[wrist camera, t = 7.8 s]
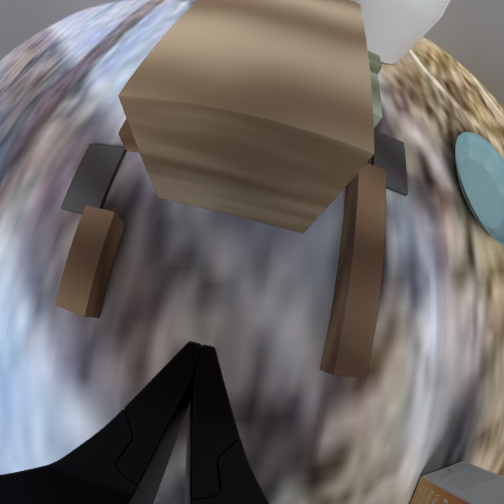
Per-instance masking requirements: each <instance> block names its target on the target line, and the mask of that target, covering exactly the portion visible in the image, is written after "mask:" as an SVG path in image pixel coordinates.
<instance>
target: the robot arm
mask: <svg viewBox="0 0 504 504" xmlns="http://www.w3.org/2000/svg"><path fill="white" fill-rule="evenodd" d="M189 404H190V408H189V420H188V435H187V453H186V476H185V504H269V502H268V500H267V498H266V497H265V495H264V493H263V491H262V489H261V487H260V485H259V483H258V482H257V480H256V478H255V475H254V473H253V471H252V469H251V467H250V465H249V462H248V459H247V457H246V454H245V451H244V448H243V445H242V442H241V439H239V438H240V436H239V432H238V429H237V426H236V422H235V419H234V416H233V412H232V409H231V405H230V402H229V398H228V394H227V391H226V387H225V383H224V380H223V376H222V372H221V368H220V364H219V361H218V357H217V353H216V349H215V347H213V346H208V345H201V344H200V343H196V342H192V341H190V342H188V343H187V344H186V345H185V346H184V347H183V348H182V349H181V350H180V351H179V352H178V353H177V354H176V355H175V356H174V357H173V358H172V360H171V361H170V362H169V363H168V364H167V365H166V366H165V367H164V368H163V369H162V370H161V371H160V372H159V373H158V374H157V375H156V376H155V377H154V378H153V379H152V380H151V381H150V382H149V383H148V384H147V385H146V386H145V387H144V388H143V389H142V390H141V391H140V392H139V393H138V394H137V395H136V396H135V398H134V399H133V400H132V401H131V402H130V403H129V404H128V405H127V406H126V407H125V408H124V410H122V411H121V412H120V413H119V414H118V415H117V416H116V417H115V418H113V419H112V420H111V421H110V422H109V423H108V424H107V425H106V426H105V427H104V428H102V429H101V430H100V431H99V432H97V433H96V434H95V435H94V436H92V437H91V438H90V439H88V440H87V441H86V442H84V443H83V444H81V445H80V446H79V447H77V448H76V449H74V450H73V451H72V452H70V453H69V454H67V455H66V456H65V457H63V458H61V459H60V460H58V461H56V462H54V463H52V464H49V465H46V466H42V467H38V468H33V469H29V470H24V471H20V472H15V473H9V474H4V475H0V504H153V502H154V499H155V497H156V494H157V491H158V489H159V486H160V483H161V480H162V478H163V475H164V472H165V469H166V467H167V464H168V461H169V459H170V456H171V453H172V450H173V448H174V445H175V442H176V440H177V437H178V434H179V432H180V429H181V426H182V423H183V421H184V418H185V415H186V413H187V410H188V407H189Z"/></svg>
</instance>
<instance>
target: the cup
mask: <svg viewBox="0 0 504 504" xmlns="http://www.w3.org/2000/svg"><path fill="white" fill-rule="evenodd" d="M449 2H450V0H355V3H358V4H360V7H361V12H362V18H363V23H364V29H365V36H366V42H367V50H368V51H370V52H372V53H375V54H377V55H379V56H380V60H381V62H383V63H388V64H396V63H398V62H399V61H400V60H401V58H402V57H403V56H404V55H405V54H406V53H407V52H408V51H409V50H410V49H411V48H412V47H413V46H414V45H415V44H416V43H417V42H418V41H419V40H420V39H421V38H422V37H423V36H424V35H425V34H426V33H427V32H428V31H429V30H430V29H431V28H432V26H433V25H434V24H435V23H436V22H437V21H438V20H439V19H440V18H441V17H442V16H443V13H444V11H445V9H446V7H447V6H448V4H449Z"/></svg>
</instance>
